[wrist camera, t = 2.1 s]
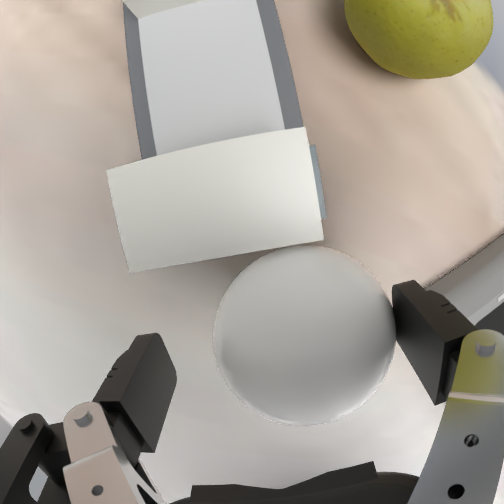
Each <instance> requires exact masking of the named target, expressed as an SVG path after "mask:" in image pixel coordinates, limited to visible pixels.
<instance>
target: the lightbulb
mask: <svg viewBox="0 0 504 504" xmlns="http://www.w3.org/2000/svg"><path fill="white" fill-rule="evenodd" d="M395 346H396V322H395V316H394V312H393V308H392V305H391V302H390V300H389V297H388V295H387V293H386V291H385V290H384V288H383V286H382V285H381V283H380V282H379V281H378V279H377V278H376V277H375V276H374V275H373V274H372V272H371V271H370V270H369V269H367V268H366V267H365V266H364V265H363V264H361V263H360V262H359V261H357V260H356V259H354V258H352V257H351V256H349V255H347V254H345V253H343V252H340V251H337V250H335V249H331V248H328V247H323V246H316V245H297V246H290V247H285V248H281V249H278V250H275V251H273V252H270V253H268V254H266V255H264V256H262V257H260V258H258V259H257V260H255V261H254V262H252V263H251V264H250V265H248V266H247V267H246V268H245V269H244V270H243V271H241V272H240V273H239V275H238V276H237V277H236V278H235V279H234V280H233V281H232V283H231V284H230V286H229V287H228V289H227V290H226V292H225V294H224V296H223V297H222V300H221V302H220V304H219V307H218V310H217V313H216V317H215V322H214V329H213V347H214V354H215V359H216V362H217V366H218V368H219V371H220V373H221V375H222V378H223V379H224V381H225V383H226V385H227V386H228V388H229V389H230V390H231V392H232V393H233V394H234V395H235V396H236V398H237V399H238V400H239V401H240V402H241V403H243V404H244V405H245V406H246V407H247V408H249V409H250V410H251V411H253V412H254V413H256V414H258V415H260V416H262V417H264V418H266V419H268V420H271V421H273V422H276V423H280V424H284V425H290V426H315V425H321V424H326V423H329V422H332V421H335V420H338V419H340V418H342V417H345V416H346V415H348V414H350V413H352V412H353V411H355V410H356V409H358V408H359V407H360V406H362V405H363V404H364V403H365V402H366V401H367V400H368V399H369V398H370V397H371V396H372V395H373V394H374V393H375V392H376V390H377V389H378V388H379V386H380V385H381V383H382V382H383V380H384V378H385V377H386V375H387V373H388V370H389V368H390V366H391V363H392V360H393V356H394V352H395Z"/></svg>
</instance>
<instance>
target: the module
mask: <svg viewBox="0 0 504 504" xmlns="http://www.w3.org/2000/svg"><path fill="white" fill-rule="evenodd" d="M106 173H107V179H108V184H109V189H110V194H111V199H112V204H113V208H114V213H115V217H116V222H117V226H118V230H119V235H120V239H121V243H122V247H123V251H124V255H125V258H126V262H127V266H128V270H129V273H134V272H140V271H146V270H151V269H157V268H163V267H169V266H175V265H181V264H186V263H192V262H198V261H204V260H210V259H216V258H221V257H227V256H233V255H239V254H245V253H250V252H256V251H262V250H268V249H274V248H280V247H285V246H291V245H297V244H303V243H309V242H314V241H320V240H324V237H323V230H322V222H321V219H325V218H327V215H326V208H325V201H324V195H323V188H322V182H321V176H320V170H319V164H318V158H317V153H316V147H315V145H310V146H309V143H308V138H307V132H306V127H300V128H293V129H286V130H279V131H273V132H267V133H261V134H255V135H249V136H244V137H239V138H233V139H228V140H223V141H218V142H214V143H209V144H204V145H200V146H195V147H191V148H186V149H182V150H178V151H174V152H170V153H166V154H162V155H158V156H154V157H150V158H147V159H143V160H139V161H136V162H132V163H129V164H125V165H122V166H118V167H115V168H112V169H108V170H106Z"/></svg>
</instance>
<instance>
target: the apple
mask: <svg viewBox="0 0 504 504" xmlns="http://www.w3.org/2000/svg"><path fill="white" fill-rule="evenodd" d="M344 12H345V17H346V21H347V24H348V26H349V29H350V31H351V33H352V34H353V36H354V38H355V39H356V41H357V42H358V43H359V44H360V46H361V47H362V48H363V49H364V50H365V52H366V53H367V54H368V55H369V56H370V57H371V58H372V60H373V61H374V62H376V63H377V64H378V65H379V66H380V67H382V68H383V69H385V70H388V71H390V72H392V73H395V74H398V75H401V76H404V77H408V78H413V79H431V78H441V77H448V76H452V75H455V74H457V73H459V72H461V71H463V70H464V69H466V68H468V67H469V66H471V65H472V64H473V63H474V62H475V61H476V59H477V58H478V57H479V56H480V55H481V53H482V52H483V50H484V49H485V47H486V46H487V44H488V42H489V40H490V37H491V35H492V30H493V12H492V6H491V1H490V0H344Z"/></svg>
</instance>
